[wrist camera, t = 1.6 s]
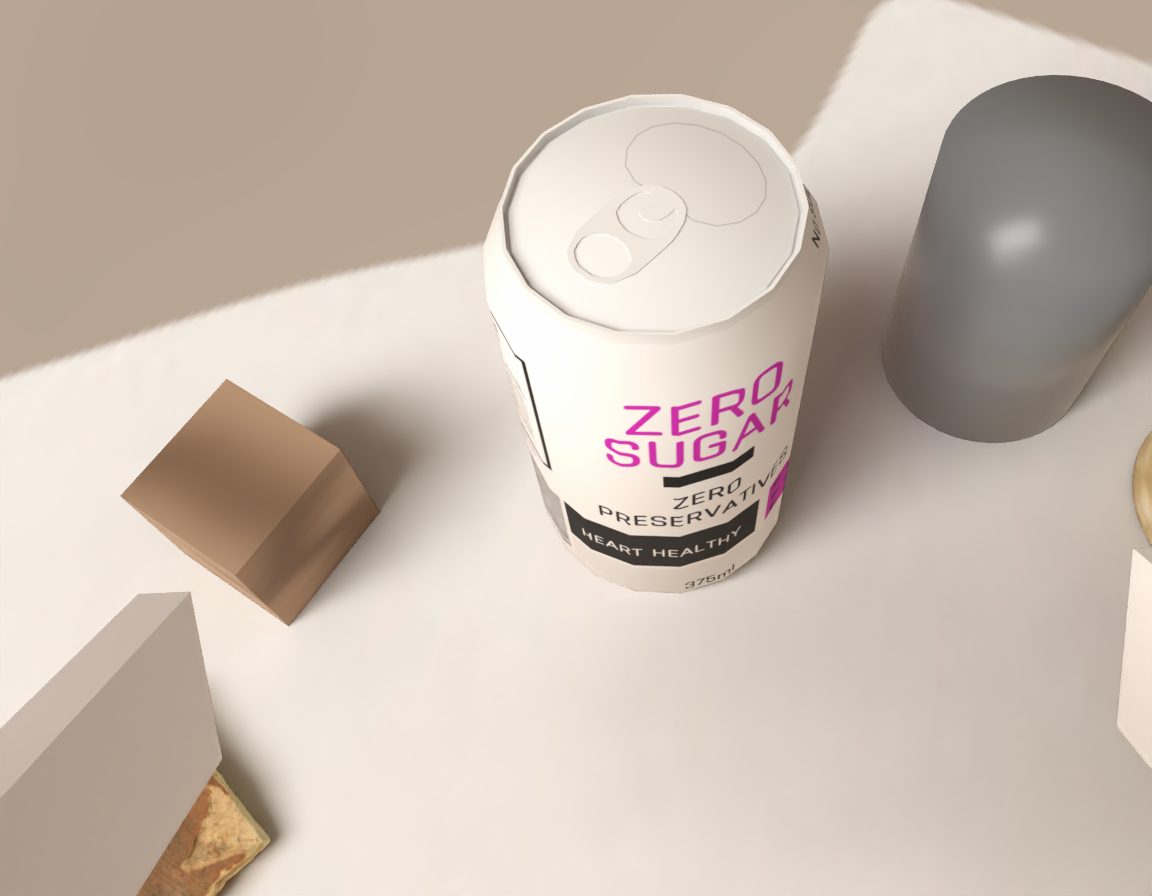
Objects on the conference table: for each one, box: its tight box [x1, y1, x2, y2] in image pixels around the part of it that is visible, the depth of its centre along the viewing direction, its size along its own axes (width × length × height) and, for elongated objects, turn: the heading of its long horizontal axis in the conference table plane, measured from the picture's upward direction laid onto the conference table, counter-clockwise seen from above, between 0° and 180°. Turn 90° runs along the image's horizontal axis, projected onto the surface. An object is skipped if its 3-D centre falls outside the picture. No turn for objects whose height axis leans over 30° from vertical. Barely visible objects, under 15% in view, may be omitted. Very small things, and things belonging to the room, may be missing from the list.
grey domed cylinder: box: [882, 75, 1152, 443], centre depth 34 cm, size 7×7×10 cm
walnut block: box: [121, 379, 380, 626], centre depth 36 cm, size 5×5×5 cm
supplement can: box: [483, 94, 829, 593], centre depth 31 cm, size 8×8×15 cm
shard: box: [136, 769, 271, 896], centre depth 33 cm, size 11×8×2 cm
